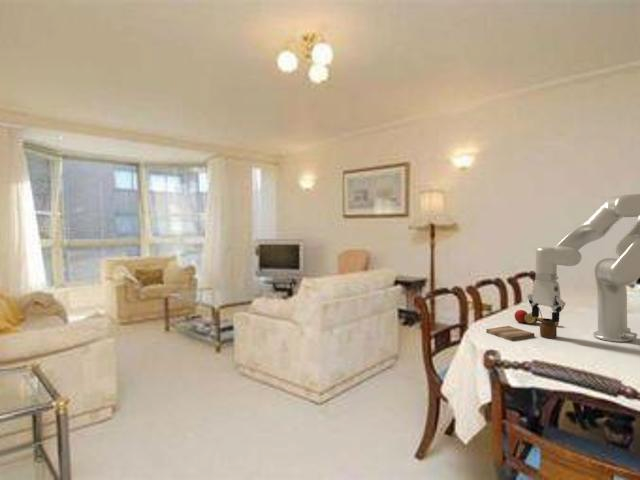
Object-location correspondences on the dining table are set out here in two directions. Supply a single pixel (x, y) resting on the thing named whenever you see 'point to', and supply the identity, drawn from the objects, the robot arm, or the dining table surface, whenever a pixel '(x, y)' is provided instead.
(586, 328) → the dining table surface
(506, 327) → the board
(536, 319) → the kendama
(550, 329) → the utensil holder
